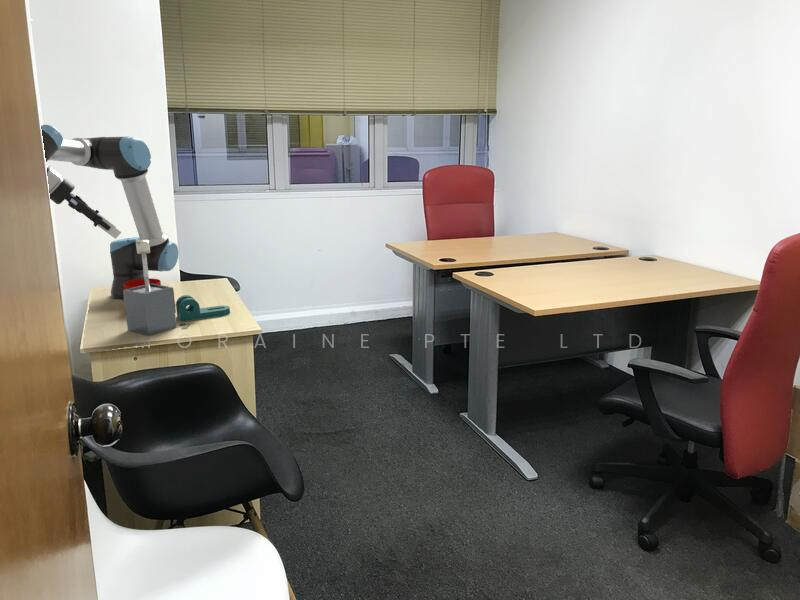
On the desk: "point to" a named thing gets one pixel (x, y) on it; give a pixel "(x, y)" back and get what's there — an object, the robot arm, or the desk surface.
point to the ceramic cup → (140, 283)
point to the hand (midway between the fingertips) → (115, 232)
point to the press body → (150, 310)
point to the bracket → (197, 309)
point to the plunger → (145, 265)
